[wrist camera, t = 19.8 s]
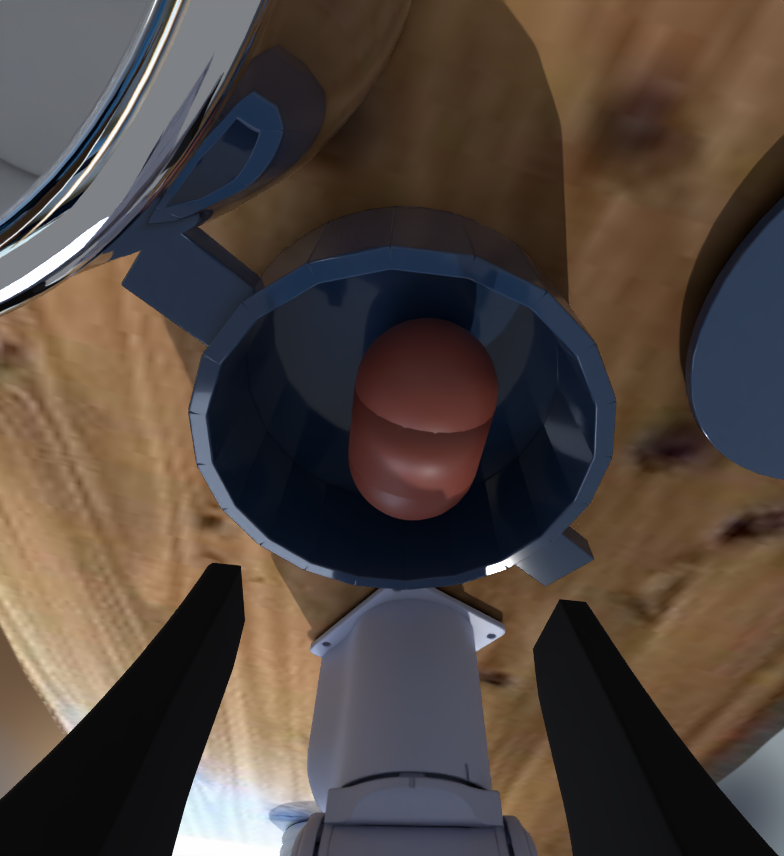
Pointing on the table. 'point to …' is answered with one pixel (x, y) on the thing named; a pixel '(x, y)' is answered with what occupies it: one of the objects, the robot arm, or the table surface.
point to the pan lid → (743, 353)
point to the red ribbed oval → (420, 417)
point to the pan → (335, 380)
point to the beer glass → (163, 117)
